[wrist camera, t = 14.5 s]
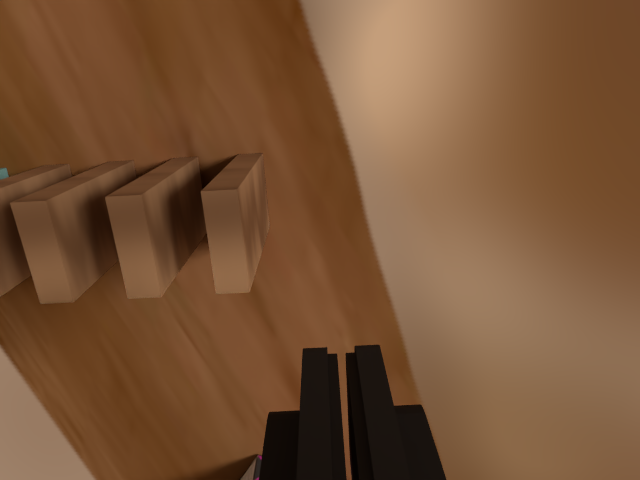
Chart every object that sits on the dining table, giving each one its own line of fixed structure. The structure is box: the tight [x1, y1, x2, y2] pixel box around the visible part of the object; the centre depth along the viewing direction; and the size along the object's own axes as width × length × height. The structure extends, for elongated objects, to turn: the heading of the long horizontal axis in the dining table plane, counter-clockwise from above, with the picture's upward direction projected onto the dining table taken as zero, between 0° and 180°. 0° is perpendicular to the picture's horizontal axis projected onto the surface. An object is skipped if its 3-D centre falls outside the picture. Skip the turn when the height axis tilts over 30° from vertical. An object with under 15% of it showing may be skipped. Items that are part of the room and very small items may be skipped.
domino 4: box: [201, 153, 270, 294], centre depth 25 cm, size 5×2×10 cm, turn 3°
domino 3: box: [105, 157, 207, 299], centre depth 25 cm, size 5×2×10 cm, turn 3°
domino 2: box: [10, 160, 137, 304], centre depth 25 cm, size 5×2×10 cm, turn 3°
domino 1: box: [0, 164, 72, 297], centre depth 25 cm, size 5×2×10 cm, turn 3°
